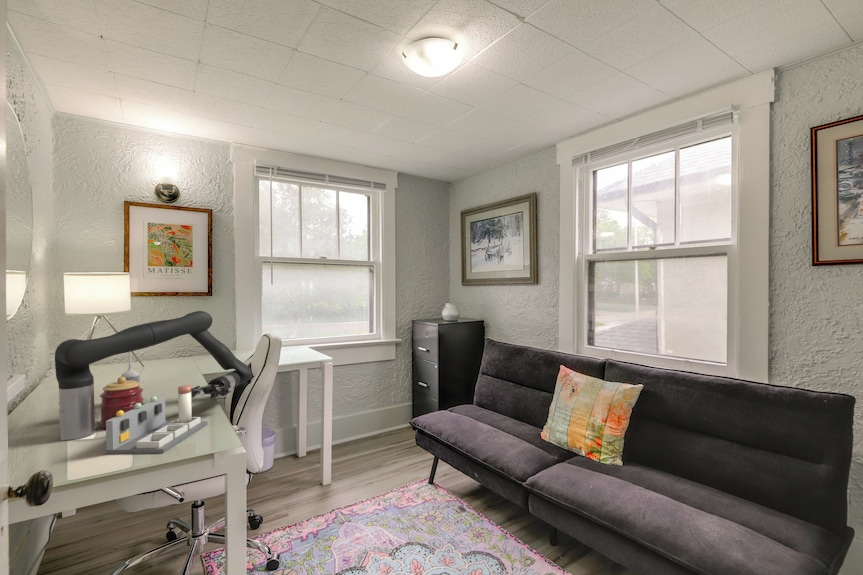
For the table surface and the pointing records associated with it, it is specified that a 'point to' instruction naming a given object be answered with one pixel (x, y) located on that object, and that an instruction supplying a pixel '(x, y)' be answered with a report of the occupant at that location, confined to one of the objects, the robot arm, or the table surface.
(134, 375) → the long-necked bottle
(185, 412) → the plug
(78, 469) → the table surface
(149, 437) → the breaker board
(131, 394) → the canister
